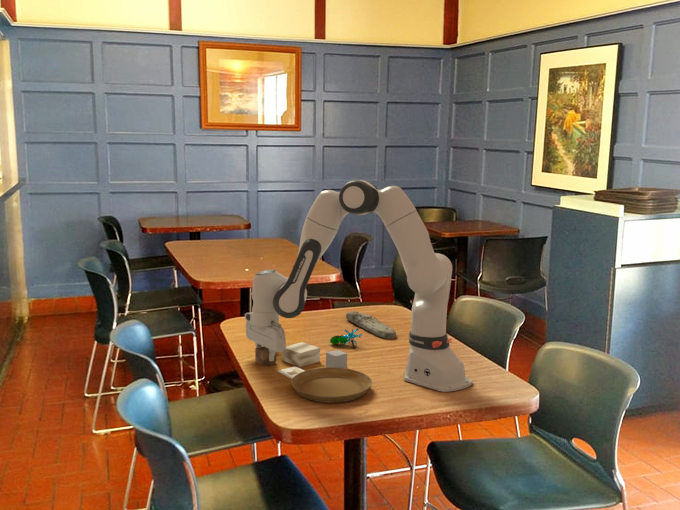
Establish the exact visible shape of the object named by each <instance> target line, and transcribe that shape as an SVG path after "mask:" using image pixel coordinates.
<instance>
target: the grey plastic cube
mask: <svg viewBox="0 0 680 510" xmlns="http://www.w3.org/2000/svg"><path fill="white" fill-rule="evenodd" d="M328 367H330V368H345V369H348V353H347V352H344V351H342V350H340V349H335V350H331V351H326V352H325V368H328Z"/></svg>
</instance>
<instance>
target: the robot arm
mask: <svg viewBox="0 0 680 510" xmlns="http://www.w3.org/2000/svg"><path fill="white" fill-rule="evenodd" d="M372 213H375V214H377V215H378V216H379V218H380V219H381V221H382V223H383V225H384V227H385V228H386V231H387V233H388V234H389V236H390V238H391V240H392V241H393V244H394V246H395V247H396V250H397V252H398V254H399V257H400V261H401V263H402V267H403V269H404V272H405V274H406V281H407V285H408V287H409V288H410V289H411V290H412V292H413V293H414V297H413V302H412V307H411V317H410V318H411V319H410V321H411V323H410V331H409V334H408V342H409V348H408V349H409V350H408V355H407V362H406V366H405V370H404V373H403V374H404V377H403V381H405V382H408V383H412V384H415V385H418V386H421V387H424V388H425V387H426V388H427V389H428V388H429V389H432V390H435V391H439V392H442V393H444V392H447V393H449V392H455V391H459V390H463V389H467V388H468V387H471V386H472V384H473V379H471V378H469V377H467V376H466V368H465V365H464V362H463V361H462V360H461V359H460V358H459V357H458V355H457V354H456V353H455V352H454V350H453V349H452V348H451V347H450V343H453V341H452V340H453V338H448V334H447V313H448V312H447V311H448V304H449V298H450V291H451V285H452V284H451V283H452V277H453V276H452V275H453V264H452V262H451V260H450V259H449V258H448V257H447V256H446V255H445V254H442V253H439V252H435V251H434V247H433V244H432V242H431V238H430V233H429V231H428V229H427V227H426V225H425V224H424V222H423V220H422V218H421V216H420V214H419V212H418V211H417V209H416V207H415V206H414V204H413V202H412V200H411V199H410V198H409V196H408V195H407V194H406V193H405V191H404V190H403V189H402V188H401V187H400V186H397V185H390V186H386V187H384V188H382V189H378V187H377V186H375V184H373V183H371V182H369V181H367V180H364V179H363V180H362V179H354V180H350V181H348V182H346V183H345V184H344V185H342V187H341V189H340V191H335V190H332V189H325V190H322V191H320V193H318V195H317V197H316V198H315V200H314V201H313V203H312V205H311V207H310V209H309V211H308V212H307V214H306V217H305V220H304V222H303V225H302V230H301V234H300V240H299V247H298V252H297V256H296V259H295V261H294V264H293V267H292V269H291V271H290V273H289V277H287V276H285V275H283V274H282V273H280V272H278V271H277V270H276V269H265V270H261V271H258V272H257V273H255V275H254V276H253V278H252V279H253V280H252V288H251V298H252V301H253V303H252V308H251V310H252V311H250V312H246V313H245V314H244V319H245V336H246V338H247V339H248V340H250V341H252V342H253V343H255V348H258V347H263V346H264V347H266V348H268V349H269V352H270V353H269V355H267V360H268V361H274V355H275V353H276V354H277V353H282V351H285V349H286V346H287V342H286V332H285V329H284V328H283V326H282V324H280V317H283V318H285V319H293V318H297V317H298V316H299V315H301V314H302V313H303V310H304V309H305V303H306V301H307V297H308V290H307V287H308V286H307V285H308V284H309V282H310V279H311V276H312V275H313V271H314V269H315V267H316V265H317V264H318V262H319V260H320V259H321V258H322V256H323V255H324V254H325V252H326V251H327V250H328V248H329V246H331V244H332V242H333V241H334V238H336V235H337V233H338V231H339V228H340V226H341V224H342V221H343V219H344V218H345V217H346V215H348V214H351V215H356V216H365V215H369V214H372Z"/></svg>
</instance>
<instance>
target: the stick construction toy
mask: <svg viewBox="0 0 680 510" xmlns="http://www.w3.org/2000/svg"><path fill="white" fill-rule="evenodd" d="M344 331H345V333H347V334H346V335H343V334H341V335H334V336H332V337H331V338H330V339H329V343H330V344H333V345H338V346H339V348H341V347H342V345H346V344H347V343H348V344H351V345H352V348H353V349H356V346H355V344H357V343H358V342H357V341H356V339H355V338H359V339H361V337H362V336H363V335H362V333H360V334H355V333H356V332H357V331H359V327H358V328H356V329H351V332H350V331H348V330H347V329H346V328H345V329H344Z"/></svg>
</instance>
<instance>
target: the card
mask: <svg viewBox="0 0 680 510" xmlns="http://www.w3.org/2000/svg"><path fill="white" fill-rule="evenodd" d="M304 371H305V369H302V368H301V367H298V366H296V365H294V366H292V367H287V368H282V369H278V370H277V372H278V373H279V374H281V375H283V376H285V377H286V378H289V379H291V380H292V379H293V377H294V376H296V375H297V374H299V373H301V372H304Z"/></svg>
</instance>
